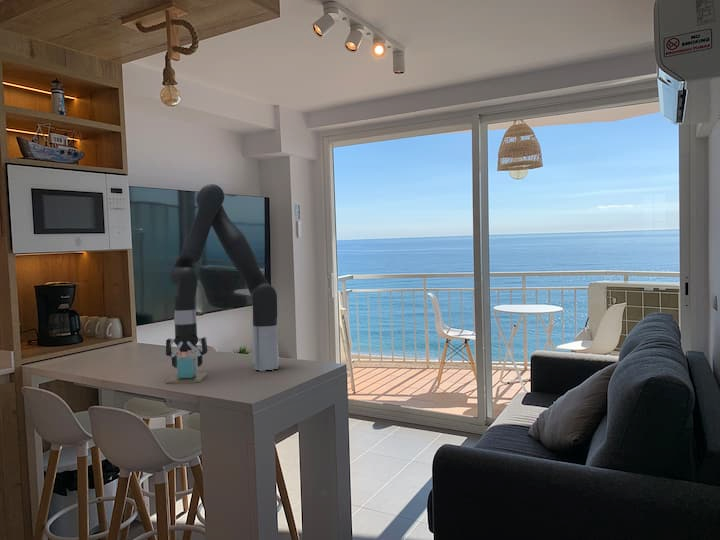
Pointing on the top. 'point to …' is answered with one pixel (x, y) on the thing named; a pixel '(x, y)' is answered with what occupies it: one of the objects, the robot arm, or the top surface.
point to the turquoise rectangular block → (186, 367)
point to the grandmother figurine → (184, 353)
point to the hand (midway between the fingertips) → (187, 366)
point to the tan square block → (196, 378)
